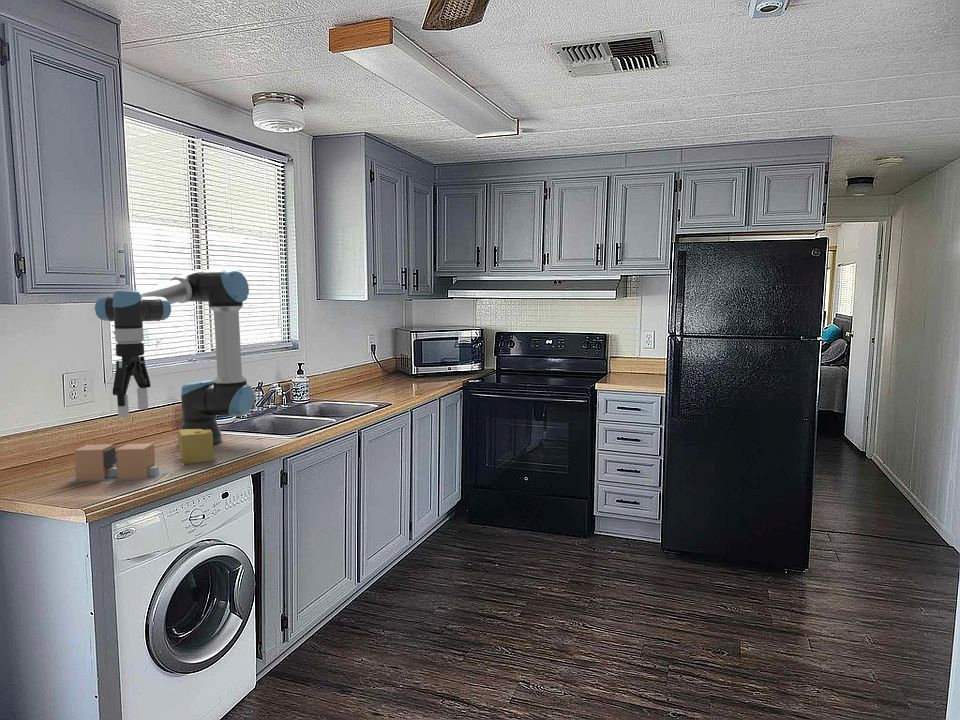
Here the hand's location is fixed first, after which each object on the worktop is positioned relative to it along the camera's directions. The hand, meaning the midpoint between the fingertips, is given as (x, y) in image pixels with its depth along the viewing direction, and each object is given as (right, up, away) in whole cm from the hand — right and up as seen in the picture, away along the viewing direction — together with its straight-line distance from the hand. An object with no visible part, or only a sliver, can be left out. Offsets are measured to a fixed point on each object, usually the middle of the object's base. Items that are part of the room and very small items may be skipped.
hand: (133, 412), depth 204 cm
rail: (-5, -20, +1) cm, 21 cm away
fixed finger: (-12, -19, +1) cm, 23 cm away
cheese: (+8, -18, +25) cm, 32 cm away
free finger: (0, -19, +2) cm, 19 cm away
